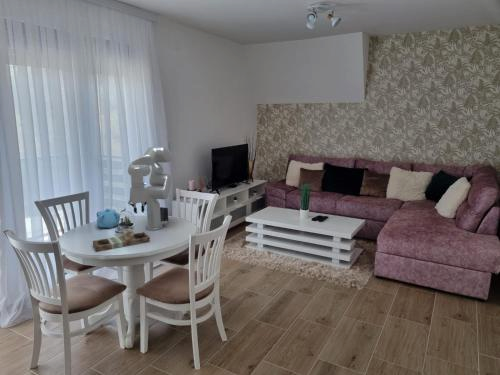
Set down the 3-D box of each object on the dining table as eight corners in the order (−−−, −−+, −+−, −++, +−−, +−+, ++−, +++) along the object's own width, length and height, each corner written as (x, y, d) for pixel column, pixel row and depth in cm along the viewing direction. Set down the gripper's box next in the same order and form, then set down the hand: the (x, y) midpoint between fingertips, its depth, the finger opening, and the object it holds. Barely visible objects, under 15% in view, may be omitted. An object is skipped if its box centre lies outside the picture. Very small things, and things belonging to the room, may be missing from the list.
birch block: (131, 235, 238) (130, 228, 237) (133, 238, 233) (133, 231, 232) (123, 237, 236) (123, 230, 235) (125, 239, 231) (125, 232, 230)
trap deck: (144, 236, 247) (143, 232, 246) (149, 241, 236) (149, 237, 235) (93, 245, 229) (92, 240, 229) (96, 251, 219) (96, 247, 218)
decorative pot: (121, 227, 265) (120, 210, 263) (98, 230, 258) (96, 212, 256) (118, 222, 280) (117, 205, 277) (96, 224, 273) (95, 207, 270)
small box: (168, 220, 284) (168, 207, 282) (164, 222, 278) (163, 209, 276) (157, 219, 288) (156, 206, 286) (152, 221, 282) (152, 208, 280)
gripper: (148, 183, 239) (150, 209, 243) (123, 185, 231) (125, 213, 234) (151, 185, 233) (153, 212, 237) (125, 187, 224) (127, 215, 228)
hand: (139, 212), depth 235 cm, fingers open, 3 cm apart
